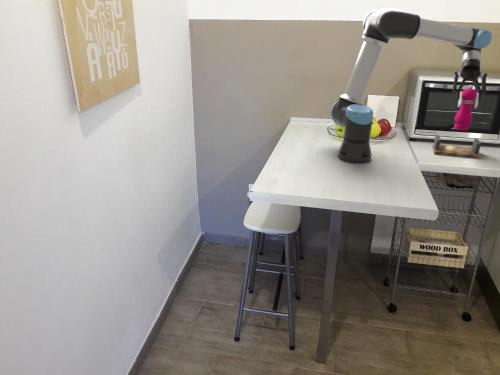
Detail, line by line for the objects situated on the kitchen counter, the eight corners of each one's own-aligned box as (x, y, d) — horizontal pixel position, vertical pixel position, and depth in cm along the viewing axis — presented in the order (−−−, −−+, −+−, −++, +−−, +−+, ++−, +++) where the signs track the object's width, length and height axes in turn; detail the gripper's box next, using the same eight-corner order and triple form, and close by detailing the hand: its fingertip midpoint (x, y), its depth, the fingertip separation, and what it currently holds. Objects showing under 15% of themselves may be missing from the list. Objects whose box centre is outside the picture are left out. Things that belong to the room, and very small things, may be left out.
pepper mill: (471, 131, 183) (482, 86, 174) (454, 130, 184) (464, 86, 176) (467, 126, 189) (477, 83, 181) (451, 126, 191) (460, 83, 182)
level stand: (434, 154, 191) (436, 141, 188) (432, 146, 201) (434, 133, 198) (478, 158, 185) (482, 145, 182) (474, 150, 195) (477, 137, 193)
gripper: (491, 69, 186) (489, 112, 179) (447, 67, 192) (443, 108, 185) (496, 58, 180) (494, 103, 173) (450, 57, 185) (446, 99, 178)
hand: (467, 106), depth 179 cm, fingers closed on pepper mill, 6 cm apart
